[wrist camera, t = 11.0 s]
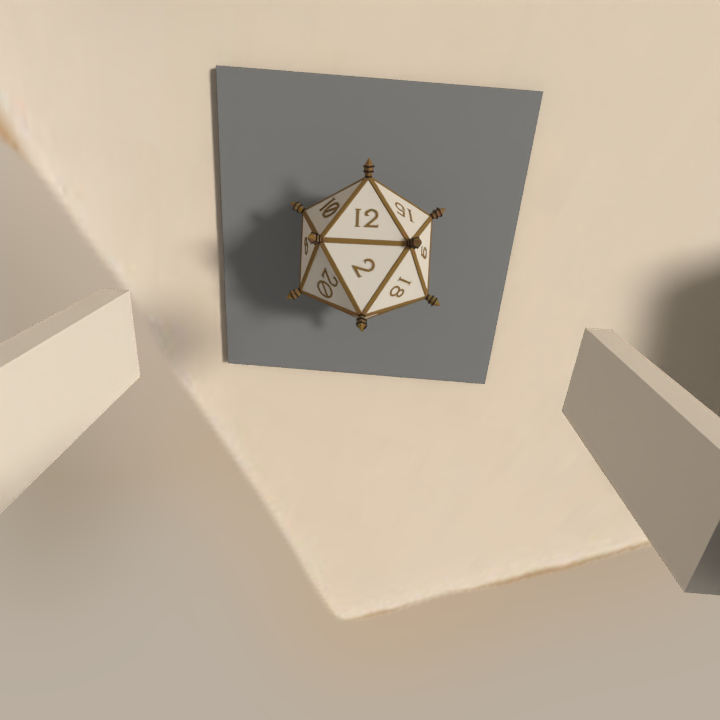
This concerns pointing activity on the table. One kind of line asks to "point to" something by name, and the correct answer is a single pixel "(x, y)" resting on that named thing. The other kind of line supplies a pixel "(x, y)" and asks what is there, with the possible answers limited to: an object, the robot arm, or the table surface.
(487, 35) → the table surface
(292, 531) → the table surface
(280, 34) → the table surface
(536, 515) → the table surface
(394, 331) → the mat
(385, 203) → the game die
